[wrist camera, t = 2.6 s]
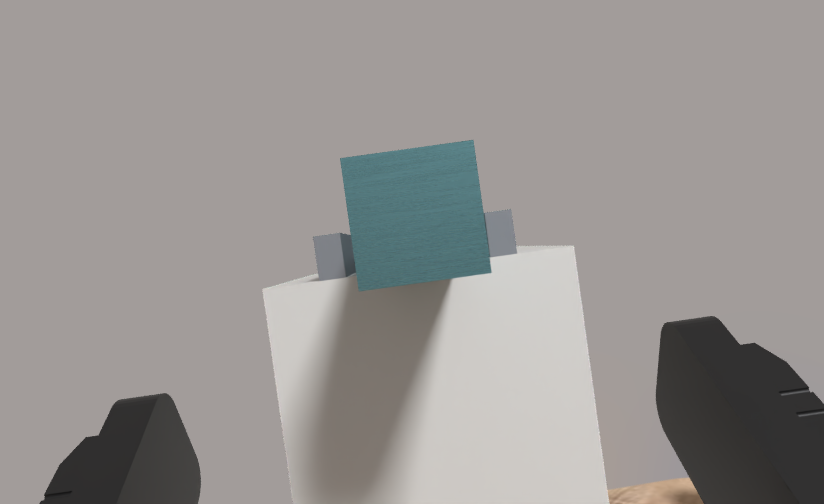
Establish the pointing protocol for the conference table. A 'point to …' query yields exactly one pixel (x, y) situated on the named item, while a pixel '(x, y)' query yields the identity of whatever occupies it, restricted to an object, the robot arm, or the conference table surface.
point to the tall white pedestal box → (438, 382)
